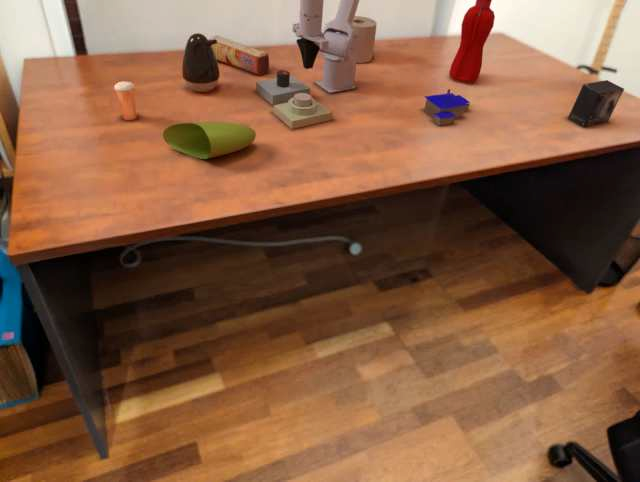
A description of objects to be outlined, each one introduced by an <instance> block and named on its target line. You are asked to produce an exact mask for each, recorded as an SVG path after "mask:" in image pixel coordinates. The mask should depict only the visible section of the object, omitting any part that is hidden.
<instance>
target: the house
mask: <svg viewBox="0 0 640 482" xmlns="http://www.w3.org/2000/svg"><path fill="white" fill-rule="evenodd" d="M423 97H424V98H425V99H426V100H425V104H424V109H423V111H424V112H426V114H428V116H430V117H431V118H433V122H434V123H435V124H437V125H438V126H445V125H452V124H453V122H454V119H461V118H463V115H464V112H468V111H469V108H470V103H471V102H470V100H468V99H466V98H465V97H464V96H462V95H460V94H457V95H456V94H455V93H453V92H451V89H450V88H449V89H447V92H446V93H441V94H435V95H434V94H433V95H426V96H425V95H424V96H423Z"/></svg>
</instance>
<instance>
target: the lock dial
mask: <svg viewBox="0 0 640 482" xmlns="http://www.w3.org/2000/svg"><path fill="white" fill-rule="evenodd" d="M290 76H291V74H290V71H288V70H284V69H280V70H278V71H276V78H277V86H279V87H288V86H289V81H290Z"/></svg>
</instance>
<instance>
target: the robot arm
mask: <svg viewBox="0 0 640 482" xmlns="http://www.w3.org/2000/svg"><path fill="white" fill-rule="evenodd" d="M359 3H360V0H340V2H339V5H338V7H337V11H336V14H335V17H334V19H332V20H330V21H329V22H326V23H325V24H324V26H323V13H324V0H299V21H298V23H292V28H291V29H292V30H291V32H292V33H294V36H295V37H297V39H296V41H295V42H296V44H297V46H298V49H299V52H300V55H301V61H302V66H303V68H304V69H305V70H309V69H313V67H314V65H315V62H316V58H317V56H318V54H319V53H321V57H323V63H322V77H321V80H318V81H316V82H315V84H316V85H317V86H319V87H320V88H321V89H323V90H324V91H326V92H327V93H328V94H333V93H338V92H343V91H348V90H354V89H356V85H355V80H356V71H357V63H356V62H355V59H354V57H353V55H354V53H355V51H356V45H357V44H356V43H357V39H358V33H357V31H356V30H355V28H354V27H353V25H352V23H353V19H354V16H356V12H357V10H358V6H359ZM322 27H323V28H322ZM340 33H342V34H340ZM343 34H346V35H343ZM347 35H349V36H347Z"/></svg>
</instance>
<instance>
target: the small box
mask: <svg viewBox="0 0 640 482" xmlns="http://www.w3.org/2000/svg"><path fill="white" fill-rule="evenodd" d="M624 91H625V88H624V87H622V86H619V85H617V84H615V83H613V82H612V81H609V80H607V79H605V80H600V81H594V82H588V83H583V84H582V86H581V87H580V91H579V92H578V94H577V97H576V99H575V102H574V103H573V106H572V108H571V110H570V112H569V114H568V116H567V119H569V121H572V122H573V123H576V124H577V125H578V126H580V127H582V128H588V127H592V126H597V125H601V124H606V123H608V122H609V121H610V119H611V117H612V115H613V113H614V111H615V109H616V106H617V105H618V103H619V100H620V98H621V97H622V95H623V92H624Z"/></svg>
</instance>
